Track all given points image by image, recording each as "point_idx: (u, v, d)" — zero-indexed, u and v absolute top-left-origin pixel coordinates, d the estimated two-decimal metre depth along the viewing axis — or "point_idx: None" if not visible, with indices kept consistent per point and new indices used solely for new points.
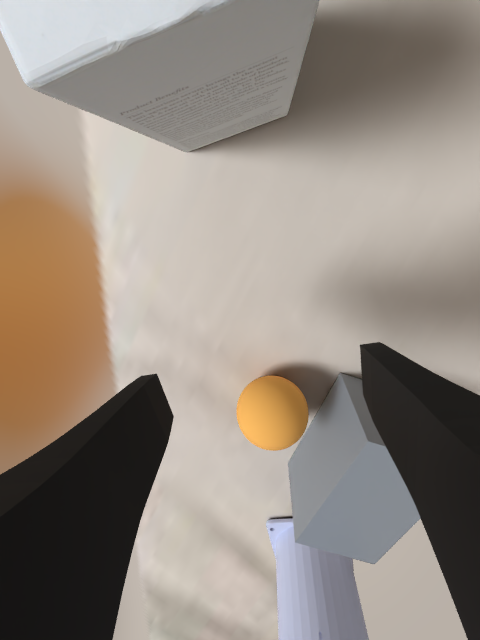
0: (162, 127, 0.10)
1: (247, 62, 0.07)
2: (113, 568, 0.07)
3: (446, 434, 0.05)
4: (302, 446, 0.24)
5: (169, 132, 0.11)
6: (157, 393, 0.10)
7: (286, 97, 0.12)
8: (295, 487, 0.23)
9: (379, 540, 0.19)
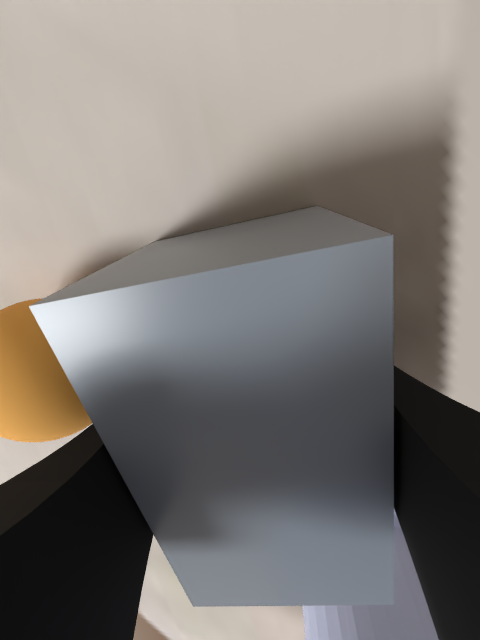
0: None
1: None
2: (132, 567, 0.07)
3: (414, 437, 0.05)
4: None
5: None
6: None
7: None
8: None
9: (349, 552, 0.07)
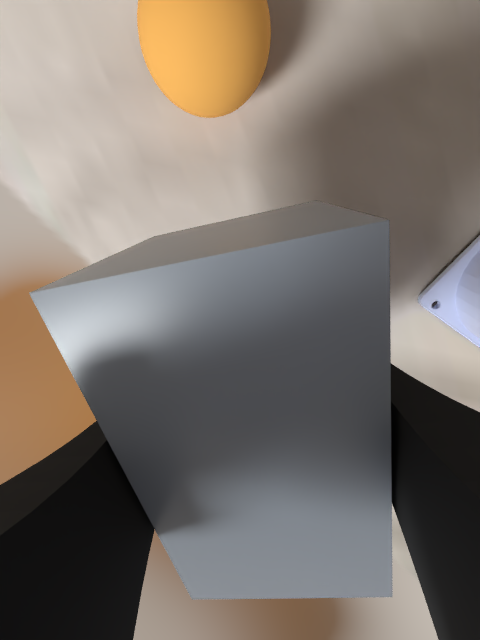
0: None
1: None
2: (132, 567, 0.07)
3: (414, 437, 0.05)
4: None
5: None
6: None
7: None
8: None
9: (347, 543, 0.07)
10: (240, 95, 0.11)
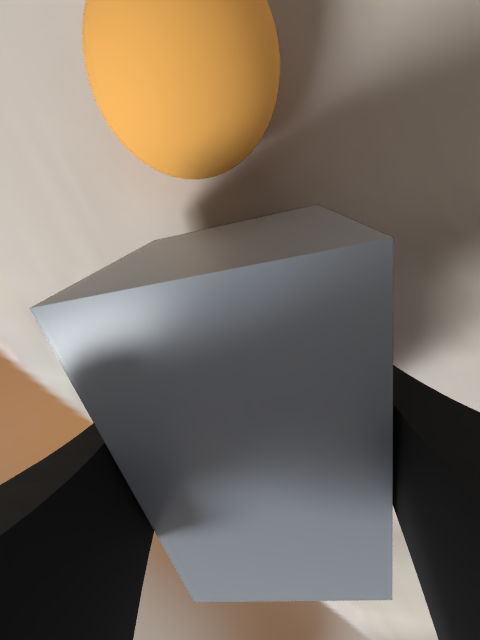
0: None
1: None
2: (132, 567, 0.07)
3: (414, 437, 0.05)
4: None
5: None
6: None
7: None
8: None
9: (348, 549, 0.07)
10: None
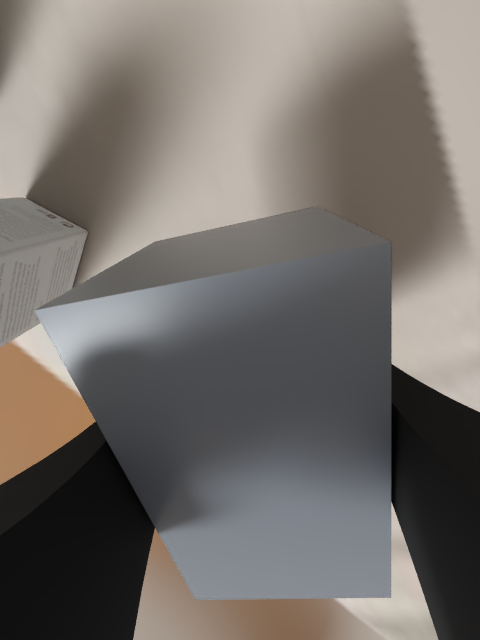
0: None
1: None
2: (132, 567, 0.07)
3: (414, 437, 0.05)
4: None
5: (6, 334, 0.15)
6: None
7: (44, 248, 0.14)
8: None
9: (347, 547, 0.08)
10: None
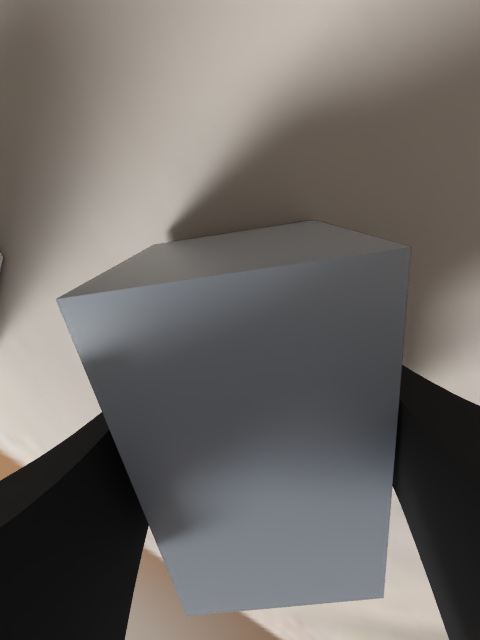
0: None
1: None
2: (124, 567, 0.07)
3: (426, 436, 0.05)
4: None
5: None
6: None
7: None
8: None
9: (347, 546, 0.08)
10: None
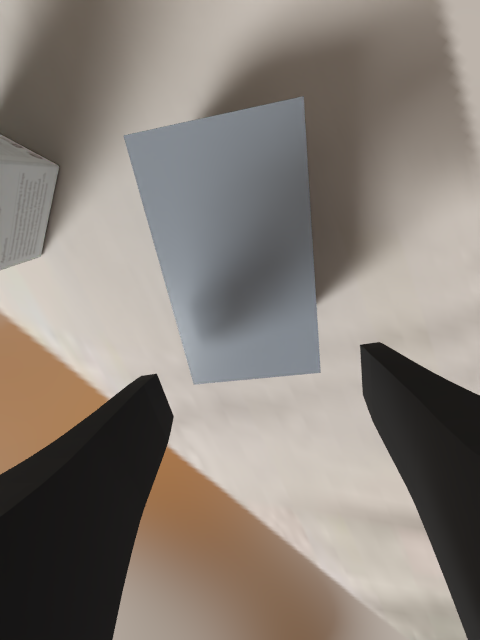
0: None
1: None
2: (113, 568, 0.07)
3: (446, 434, 0.05)
4: None
5: None
6: (157, 393, 0.10)
7: (2, 169, 0.13)
8: None
9: (291, 323, 0.12)
10: None
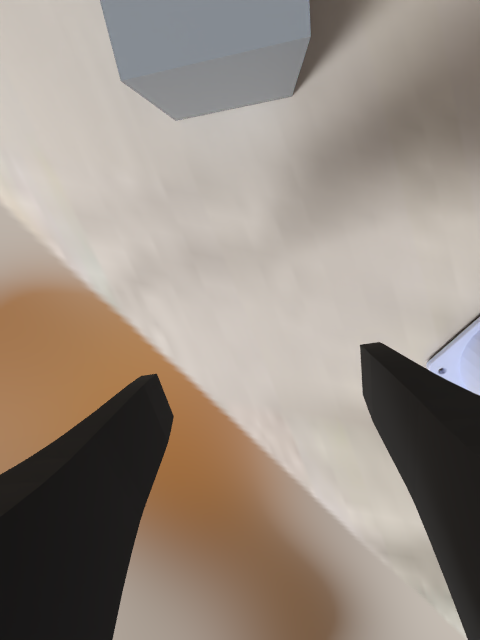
0: None
1: None
2: (113, 568, 0.07)
3: (446, 434, 0.05)
4: None
5: None
6: (157, 393, 0.10)
7: None
8: None
9: None
10: None
